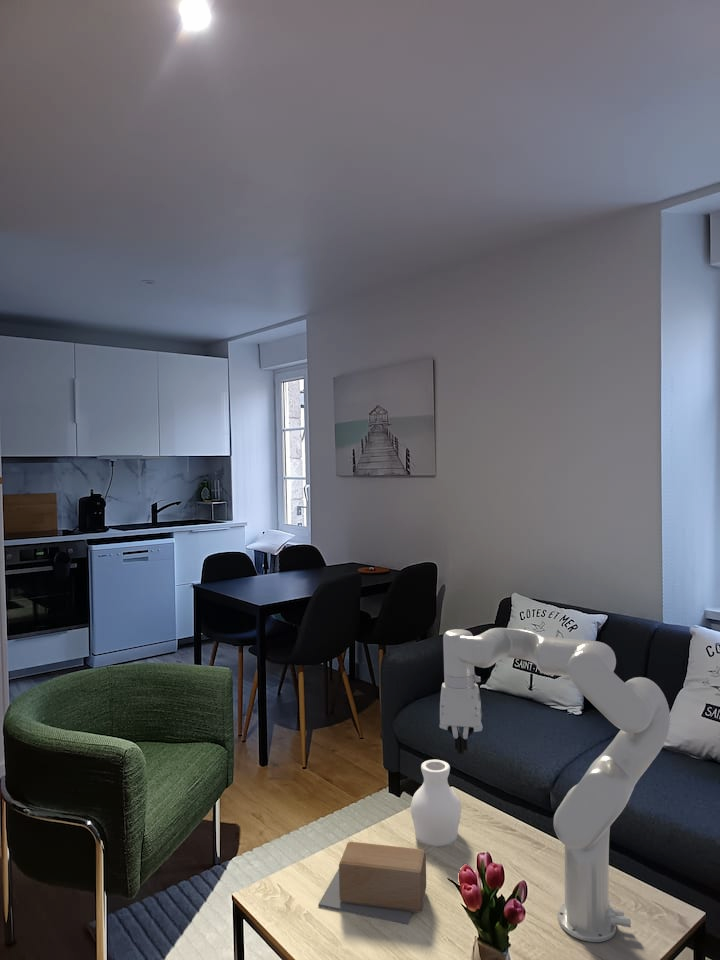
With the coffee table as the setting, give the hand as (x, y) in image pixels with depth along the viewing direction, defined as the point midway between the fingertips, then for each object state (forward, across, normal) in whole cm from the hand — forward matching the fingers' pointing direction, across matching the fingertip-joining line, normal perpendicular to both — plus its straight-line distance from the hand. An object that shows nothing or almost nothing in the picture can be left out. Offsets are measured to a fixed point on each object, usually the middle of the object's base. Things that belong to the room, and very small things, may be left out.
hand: (461, 752), depth 169 cm
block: (+27, +8, +11) cm, 30 cm away
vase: (+33, +10, -19) cm, 39 cm away
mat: (+32, +22, +10) cm, 40 cm away
